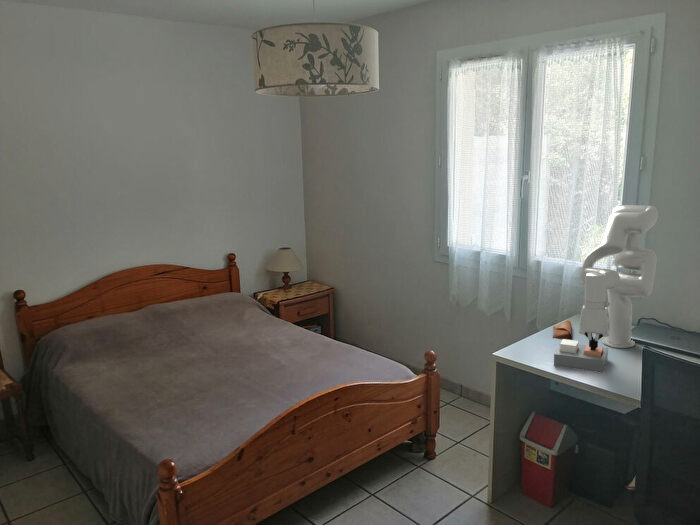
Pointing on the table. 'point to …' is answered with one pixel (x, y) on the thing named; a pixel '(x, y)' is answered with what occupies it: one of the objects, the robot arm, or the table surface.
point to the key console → (581, 360)
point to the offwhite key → (569, 346)
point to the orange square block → (593, 351)
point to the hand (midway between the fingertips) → (593, 349)
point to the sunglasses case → (563, 330)
